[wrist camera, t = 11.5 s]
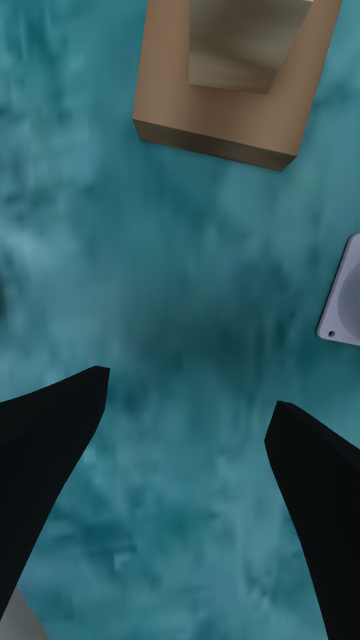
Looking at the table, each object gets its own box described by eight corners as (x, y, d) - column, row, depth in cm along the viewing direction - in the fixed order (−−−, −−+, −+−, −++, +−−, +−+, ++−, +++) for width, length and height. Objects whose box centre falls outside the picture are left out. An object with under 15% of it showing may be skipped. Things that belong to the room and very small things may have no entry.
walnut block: (327, -4, 15) (362, -70, 12) (278, 173, 17) (297, 156, 14) (168, -44, 14) (164, -120, 12) (141, 143, 17) (132, 118, 14)
